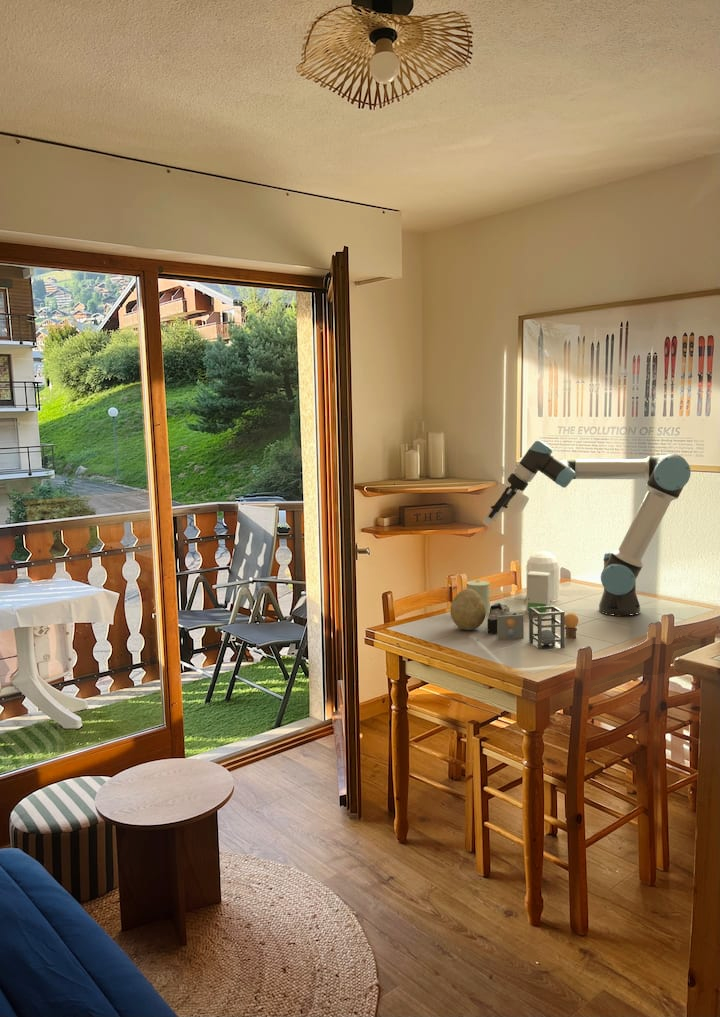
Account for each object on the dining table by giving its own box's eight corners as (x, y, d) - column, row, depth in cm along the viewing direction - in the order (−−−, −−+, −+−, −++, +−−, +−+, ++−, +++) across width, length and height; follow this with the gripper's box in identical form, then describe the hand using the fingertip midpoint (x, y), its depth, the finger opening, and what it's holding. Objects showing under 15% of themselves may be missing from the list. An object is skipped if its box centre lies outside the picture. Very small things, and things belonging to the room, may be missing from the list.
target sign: (521, 638, 269) (521, 613, 268) (524, 640, 266) (524, 615, 265) (496, 640, 268) (496, 615, 267) (499, 642, 265) (499, 617, 264)
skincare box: (526, 613, 302) (525, 574, 300) (529, 609, 308) (528, 570, 307) (548, 615, 299) (548, 575, 297) (550, 610, 305) (550, 571, 303)
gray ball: (550, 642, 261) (550, 627, 261) (556, 646, 256) (556, 631, 256) (536, 643, 261) (536, 628, 260) (542, 647, 256) (542, 632, 255)
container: (522, 595, 332) (522, 549, 329) (552, 594, 333) (552, 547, 331) (532, 603, 318) (532, 554, 316) (564, 601, 320) (564, 553, 318)
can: (489, 608, 312) (489, 579, 310) (491, 614, 303) (490, 584, 301) (466, 608, 313) (465, 579, 311) (467, 614, 304) (466, 584, 302)
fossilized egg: (449, 625, 289) (448, 585, 287) (483, 624, 289) (483, 584, 287) (452, 634, 276) (451, 593, 275) (488, 634, 276) (487, 592, 274)
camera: (506, 639, 269) (506, 610, 268) (482, 635, 274) (481, 608, 273) (522, 628, 282) (522, 601, 281) (499, 625, 287) (498, 598, 286)
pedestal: (574, 637, 269) (574, 625, 268) (580, 641, 264) (580, 628, 263) (560, 638, 268) (560, 626, 268) (566, 642, 263) (566, 629, 263)
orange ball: (574, 625, 268) (574, 611, 268) (580, 629, 263) (580, 614, 263) (560, 626, 268) (560, 612, 267) (566, 630, 263) (566, 615, 262)
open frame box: (554, 642, 264) (554, 605, 262) (564, 650, 255) (564, 611, 253) (529, 644, 262) (529, 607, 261) (538, 651, 254) (538, 613, 252)
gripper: (518, 469, 307) (487, 511, 314) (507, 474, 284) (474, 520, 290) (533, 480, 306) (502, 523, 312) (524, 486, 282) (490, 532, 289)
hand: (488, 521), depth 301 cm, fingers open, 13 cm apart
